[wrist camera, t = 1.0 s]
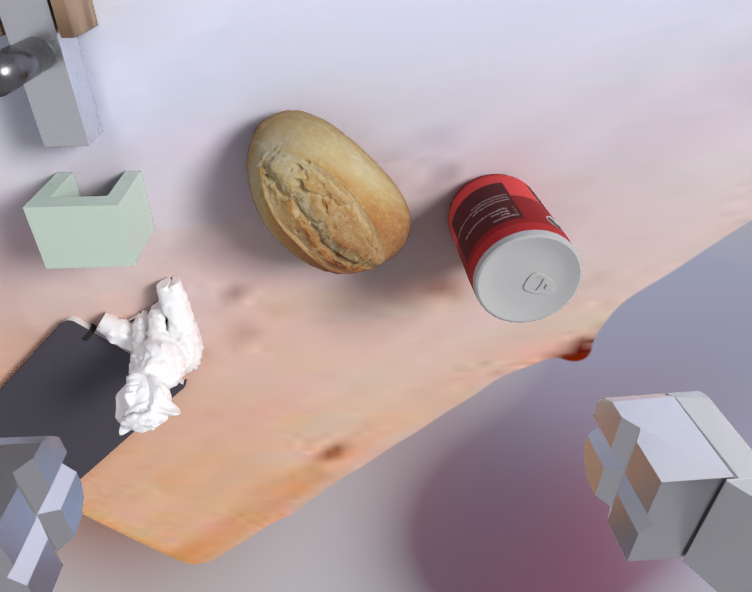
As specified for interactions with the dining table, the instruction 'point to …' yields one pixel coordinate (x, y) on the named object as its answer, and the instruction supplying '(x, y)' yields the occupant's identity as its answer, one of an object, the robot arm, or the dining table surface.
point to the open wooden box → (70, 17)
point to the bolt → (47, 74)
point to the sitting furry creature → (154, 356)
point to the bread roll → (324, 194)
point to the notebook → (70, 394)
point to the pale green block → (90, 223)
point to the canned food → (513, 249)
